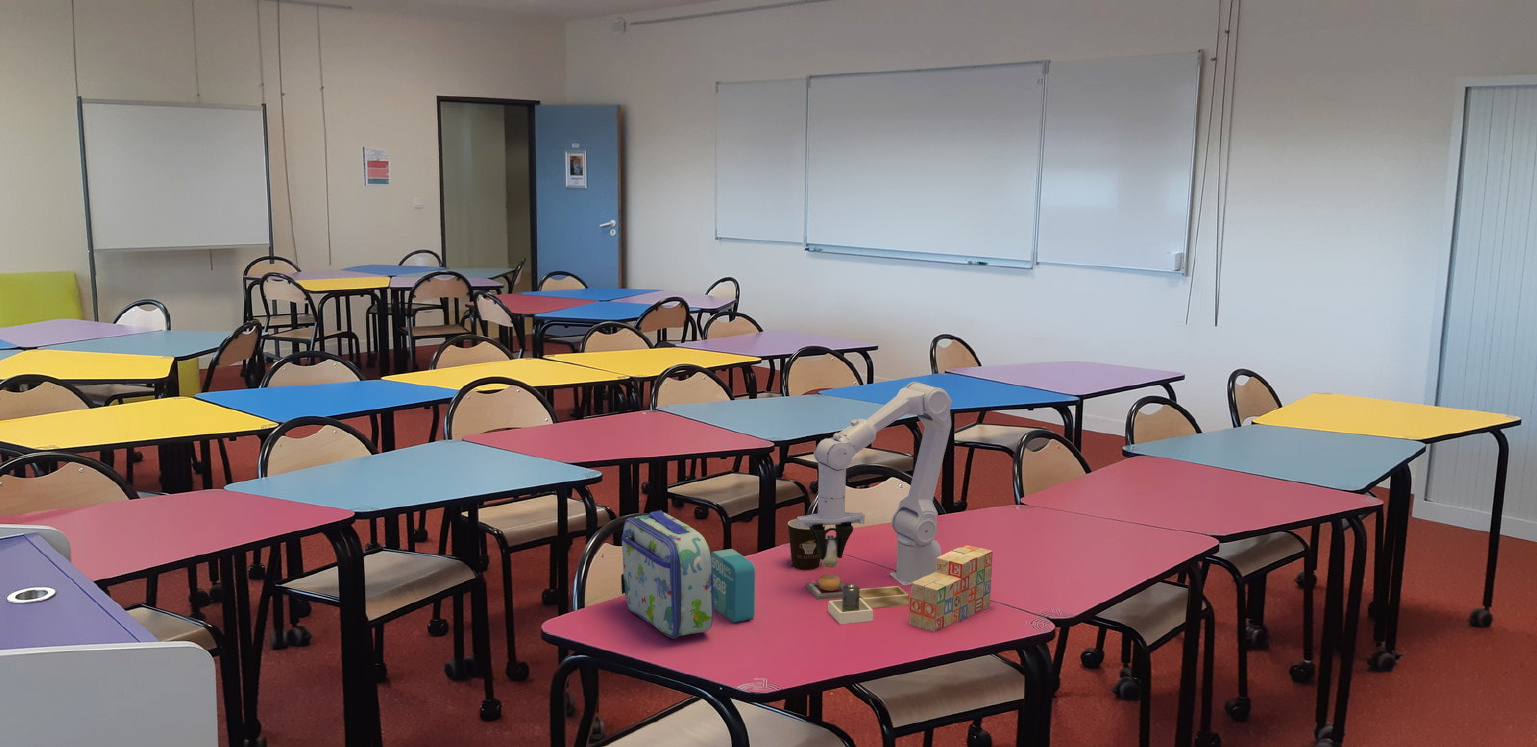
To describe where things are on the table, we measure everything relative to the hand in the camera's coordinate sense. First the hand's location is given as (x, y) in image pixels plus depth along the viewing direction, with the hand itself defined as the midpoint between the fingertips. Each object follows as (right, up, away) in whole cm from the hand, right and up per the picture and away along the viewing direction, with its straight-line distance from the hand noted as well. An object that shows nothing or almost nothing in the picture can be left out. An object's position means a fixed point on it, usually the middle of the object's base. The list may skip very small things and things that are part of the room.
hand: (830, 557), depth 234 cm
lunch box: (-34, -10, -15) cm, 39 cm away
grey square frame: (0, -8, +1) cm, 8 cm away
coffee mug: (-3, -5, +19) cm, 20 cm away
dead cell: (+3, -10, -13) cm, 16 cm away
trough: (+10, -9, -5) cm, 14 cm away
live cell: (0, -2, 0) cm, 2 cm away
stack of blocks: (+24, -11, -10) cm, 28 cm away
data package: (-21, -10, -11) cm, 25 cm away
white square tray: (+3, -10, -13) cm, 17 cm away
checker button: (0, -7, +1) cm, 7 cm away
